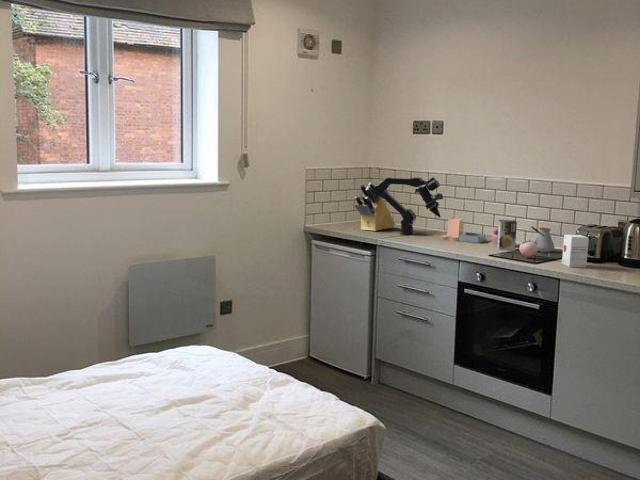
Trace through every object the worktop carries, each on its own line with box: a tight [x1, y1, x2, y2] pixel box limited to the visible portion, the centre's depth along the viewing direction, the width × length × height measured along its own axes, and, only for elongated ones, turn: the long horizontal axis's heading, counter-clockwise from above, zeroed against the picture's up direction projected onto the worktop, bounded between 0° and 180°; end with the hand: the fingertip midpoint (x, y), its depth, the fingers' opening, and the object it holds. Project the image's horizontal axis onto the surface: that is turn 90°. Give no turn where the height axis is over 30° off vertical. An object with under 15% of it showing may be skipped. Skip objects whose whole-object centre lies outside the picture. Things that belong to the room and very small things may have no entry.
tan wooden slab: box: [438, 233, 459, 242], centre depth 430 cm, size 12×14×2 cm
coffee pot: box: [528, 226, 555, 253], centre depth 389 cm, size 21×12×15 cm, turn 135°
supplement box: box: [561, 234, 590, 268], centre depth 351 cm, size 9×9×15 cm
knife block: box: [354, 182, 396, 232], centre depth 459 cm, size 11×35×31 cm, turn 145°
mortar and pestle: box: [491, 227, 498, 245], centre depth 410 cm, size 12×12×12 cm
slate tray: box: [458, 231, 486, 244], centre depth 425 cm, size 12×14×4 cm
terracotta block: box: [446, 218, 464, 237], centre depth 429 cm, size 7×7×10 cm
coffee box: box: [496, 219, 518, 251], centre depth 397 cm, size 9×6×16 cm
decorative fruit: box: [519, 238, 538, 259], centre depth 369 cm, size 9×8×10 cm
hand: (440, 217), depth 433 cm, fingers closed
